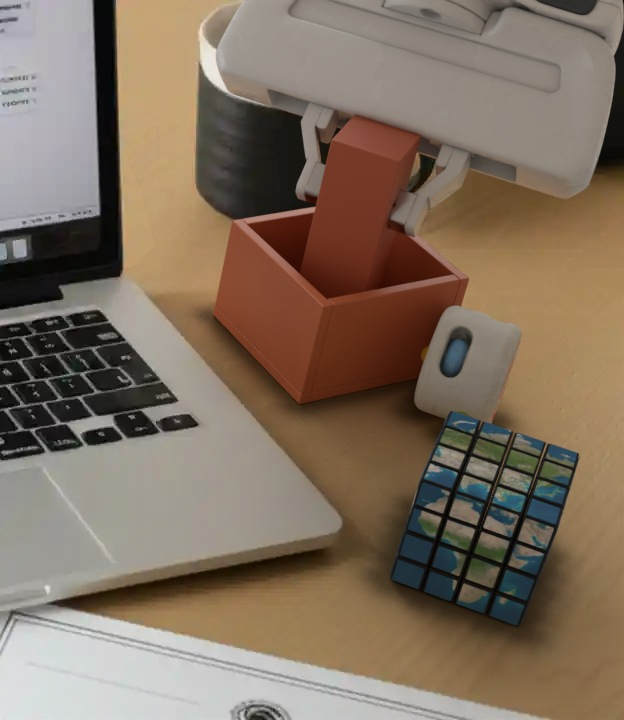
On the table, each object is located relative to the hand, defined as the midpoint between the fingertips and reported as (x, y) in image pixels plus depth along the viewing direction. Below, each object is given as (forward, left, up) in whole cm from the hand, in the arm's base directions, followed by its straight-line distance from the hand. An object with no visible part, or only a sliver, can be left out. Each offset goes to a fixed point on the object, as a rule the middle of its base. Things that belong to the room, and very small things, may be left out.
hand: (354, 215), depth 85 cm
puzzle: (+3, +17, -9) cm, 20 cm away
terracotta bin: (-1, 0, -8) cm, 8 cm away
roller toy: (-4, +7, -9) cm, 12 cm away
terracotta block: (-1, 0, -5) cm, 5 cm away
